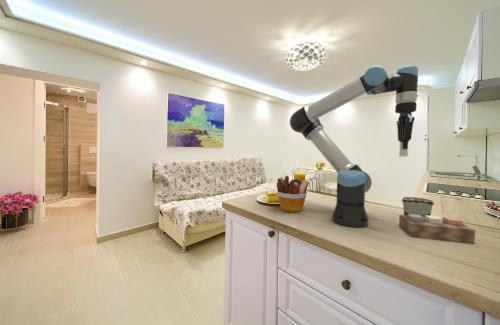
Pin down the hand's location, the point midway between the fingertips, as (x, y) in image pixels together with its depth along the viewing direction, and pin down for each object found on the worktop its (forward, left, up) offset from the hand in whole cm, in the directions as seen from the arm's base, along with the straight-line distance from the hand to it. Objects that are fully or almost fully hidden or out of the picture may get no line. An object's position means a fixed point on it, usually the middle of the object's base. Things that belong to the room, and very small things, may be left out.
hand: (403, 156), depth 93 cm
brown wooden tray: (+7, -11, -30) cm, 33 cm away
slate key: (+1, -11, -28) cm, 30 cm away
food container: (+9, +9, -31) cm, 33 cm away
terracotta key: (+13, -11, -28) cm, 33 cm away
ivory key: (+7, -11, -28) cm, 31 cm away
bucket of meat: (-50, +5, -31) cm, 59 cm away
